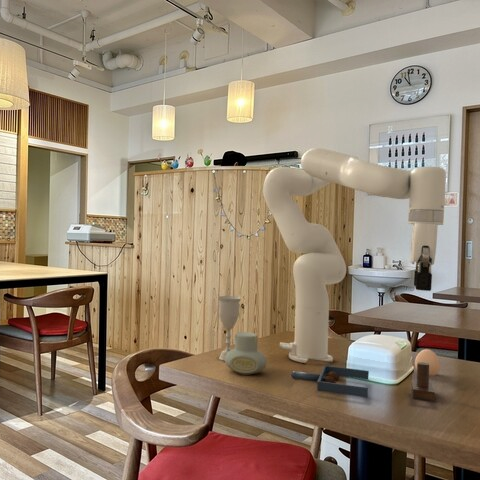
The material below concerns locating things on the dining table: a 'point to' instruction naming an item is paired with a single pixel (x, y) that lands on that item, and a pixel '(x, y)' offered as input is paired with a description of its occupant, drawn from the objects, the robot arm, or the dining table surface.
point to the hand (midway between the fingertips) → (422, 288)
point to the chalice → (228, 317)
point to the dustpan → (334, 386)
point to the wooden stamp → (422, 384)
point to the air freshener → (245, 355)
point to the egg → (429, 361)
